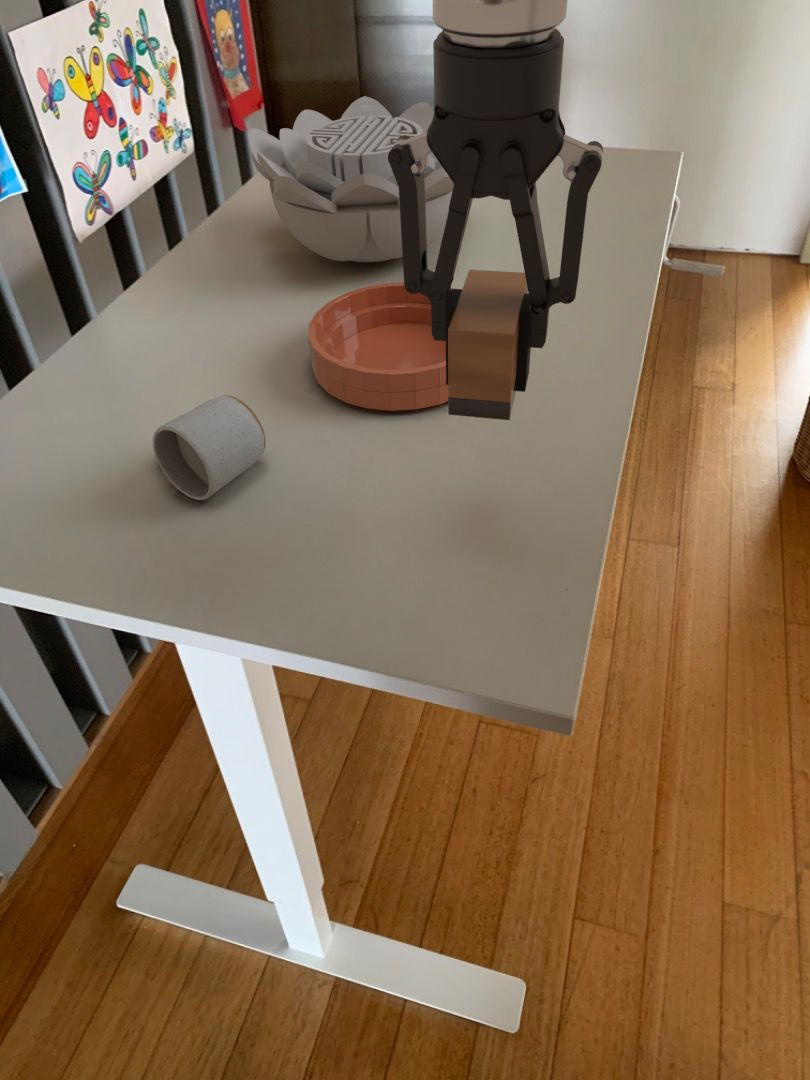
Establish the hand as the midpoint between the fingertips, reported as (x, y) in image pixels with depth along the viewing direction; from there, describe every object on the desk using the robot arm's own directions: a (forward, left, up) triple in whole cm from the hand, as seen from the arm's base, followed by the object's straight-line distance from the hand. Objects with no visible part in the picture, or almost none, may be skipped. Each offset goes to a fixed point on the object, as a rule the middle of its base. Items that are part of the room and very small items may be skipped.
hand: (487, 378), depth 64 cm
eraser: (0, 0, 0) cm, 0 cm away
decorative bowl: (+25, -53, -15) cm, 61 cm away
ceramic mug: (+27, -2, -15) cm, 31 cm away
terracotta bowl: (+13, -24, -15) cm, 32 cm away
